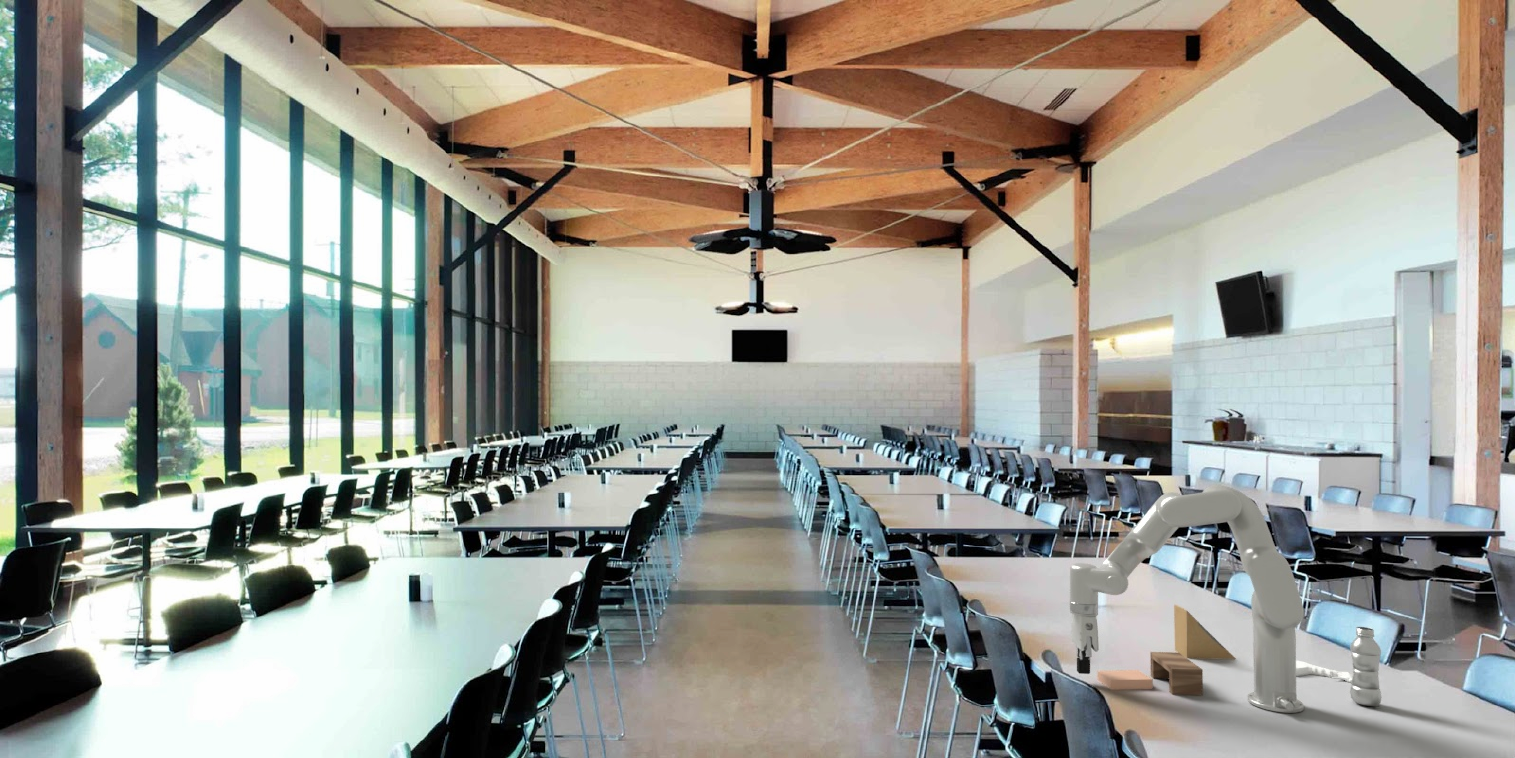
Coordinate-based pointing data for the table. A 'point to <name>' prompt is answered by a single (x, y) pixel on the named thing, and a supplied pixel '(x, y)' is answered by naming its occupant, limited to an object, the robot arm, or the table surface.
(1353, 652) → the plastic bottle
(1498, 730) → the table surface
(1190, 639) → the sandwich container
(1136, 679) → the peach flat block
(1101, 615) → the table surface
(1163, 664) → the wooden bridge block
